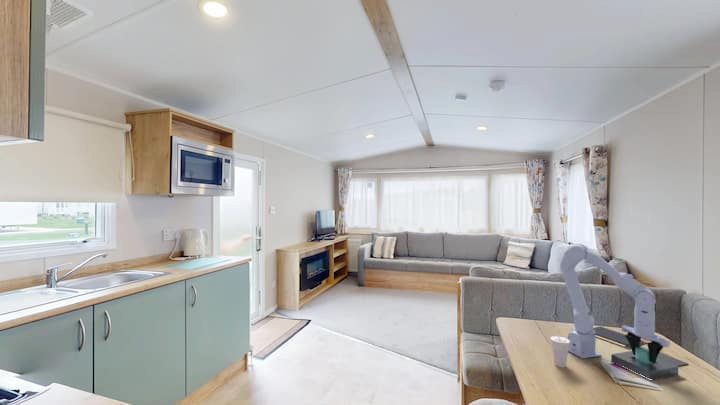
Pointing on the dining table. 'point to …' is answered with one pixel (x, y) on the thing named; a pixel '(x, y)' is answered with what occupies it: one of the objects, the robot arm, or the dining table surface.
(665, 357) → the mat
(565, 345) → the smoothie
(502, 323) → the dining table surface
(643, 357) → the end cap
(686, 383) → the dining table surface
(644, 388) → the dining table surface
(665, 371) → the housing
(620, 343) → the grey book
